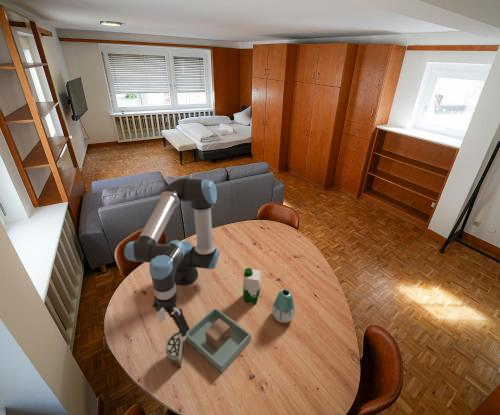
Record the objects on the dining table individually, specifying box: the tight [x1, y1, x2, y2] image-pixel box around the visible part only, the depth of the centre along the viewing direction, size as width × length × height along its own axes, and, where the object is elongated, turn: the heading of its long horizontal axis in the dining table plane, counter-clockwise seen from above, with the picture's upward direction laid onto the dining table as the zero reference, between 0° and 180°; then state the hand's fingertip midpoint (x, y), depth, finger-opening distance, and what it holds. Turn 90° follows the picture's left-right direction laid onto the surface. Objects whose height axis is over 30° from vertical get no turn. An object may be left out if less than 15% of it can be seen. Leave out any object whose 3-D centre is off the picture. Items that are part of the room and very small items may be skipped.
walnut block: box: [205, 318, 230, 351], centre depth 124 cm, size 9×7×8 cm
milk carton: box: [242, 267, 262, 305], centre depth 143 cm, size 9×9×20 cm
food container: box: [165, 331, 185, 369], centre depth 116 cm, size 12×6×10 cm, turn 5°
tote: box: [185, 307, 252, 374], centre depth 125 cm, size 24×20×5 cm
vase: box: [271, 288, 296, 324], centre depth 134 cm, size 12×12×18 cm
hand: (172, 329), depth 109 cm, fingers open, 13 cm apart
